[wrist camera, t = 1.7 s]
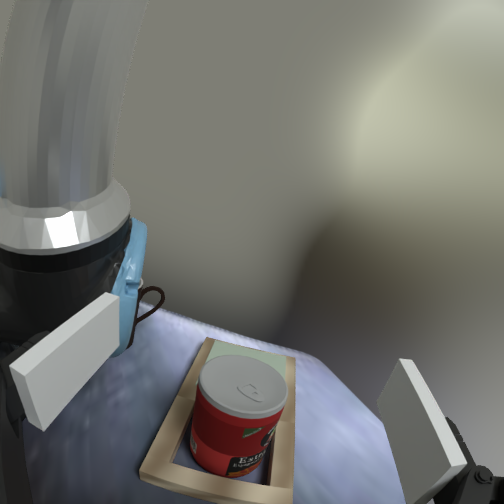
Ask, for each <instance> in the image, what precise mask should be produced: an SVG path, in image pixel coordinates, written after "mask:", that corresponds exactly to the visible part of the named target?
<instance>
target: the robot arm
mask: <svg viewBox="0 0 504 504" xmlns="http://www.w3.org/2000/svg"><path fill="white" fill-rule="evenodd" d="M148 2H149V0H15V2H14V5H13V9H12V12H11V16H10V20H9V24H8V28H7V33H6V37H5V42H4V47H3V52H2V58H1V64H0V504H33V501H32V496H31V491H30V486H29V480H28V475H27V468H26V461H25V453H24V444H23V433H22V421H23V420H24V418H25V417H26V416H27V419H28V421H29V422H30V423H31V424H33V425H34V426H36V427H37V428H39V429H41V430H42V431H45V430H46V428H47V427H48V426H49V425H50V424H51V423H52V421H53V420H54V419H55V418H56V417H57V415H58V414H59V413H60V412H61V411H62V410H63V408H64V407H65V406H66V405H67V404H68V403H69V402H70V400H71V399H72V398H73V397H74V396H75V395H76V394H77V392H78V391H79V390H80V389H81V388H82V387H83V386H84V384H85V383H86V382H87V381H88V380H89V379H90V378H91V376H92V375H93V374H94V373H95V372H96V371H97V370H98V369H99V368H100V366H101V365H102V364H103V363H104V362H105V361H106V360H107V359H108V358H113V357H116V356H119V355H120V354H122V353H123V352H124V351H125V349H126V348H127V346H128V343H129V340H130V336H131V332H132V327H133V322H134V316H135V311H136V304H137V298H138V288H139V284H140V278H141V274H142V269H143V263H144V255H145V249H146V240H147V227H146V225H145V224H144V223H143V222H140V221H138V220H137V219H135V218H131V219H130V208H131V203H130V197H129V195H128V193H127V192H126V190H125V189H124V188H123V187H122V186H121V185H120V184H119V183H118V182H117V181H116V180H115V179H114V178H113V165H114V156H115V148H116V140H117V133H118V127H119V121H120V115H121V109H122V103H123V98H124V93H125V88H126V83H127V79H128V74H129V70H130V65H131V61H132V57H133V53H134V49H135V45H136V42H137V38H138V34H139V31H140V28H141V24H142V21H143V18H144V14H145V11H146V8H147V5H148ZM13 344H14V345H19V347H18V348H17V349H15V347H14V346H13ZM20 346H21V347H20ZM376 403H377V406H378V409H379V412H380V415H381V418H382V421H383V424H384V427H385V430H386V434H387V437H388V440H389V443H390V447H391V450H392V454H393V457H394V460H395V464H396V467H397V471H398V475H399V478H400V482H401V486H402V489H403V493H404V497H405V501H406V504H427V503H428V502H429V501H430V500H431V499H432V498H433V499H434V503H435V504H504V477H496V476H493V474H492V472H491V471H490V470H489V469H488V468H486V467H485V466H481V465H478V466H476V464H475V462H474V460H473V458H472V456H471V454H470V452H469V450H468V448H467V446H466V444H465V442H463V438H462V436H461V435H460V433H459V431H458V429H457V427H456V425H455V424H454V423H453V422H452V421H451V420H450V419H449V418H448V417H444V416H443V414H442V412H441V410H440V408H439V406H438V405H437V403H436V401H435V399H434V397H433V395H432V394H431V392H430V390H429V388H428V386H427V385H426V383H425V381H424V380H423V378H422V376H421V374H420V373H419V371H418V369H417V367H416V366H415V364H414V363H413V361H412V360H407V359H399V360H398V362H397V364H396V366H395V368H394V370H393V372H392V374H391V376H390V378H389V380H388V382H387V383H386V385H385V387H384V389H383V391H382V393H381V394H380V396H379V398H378V400H377V402H376Z"/></svg>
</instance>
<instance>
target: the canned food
mask: <svg viewBox="0 0 504 504" xmlns="http://www.w3.org/2000/svg"><path fill="white" fill-rule="evenodd" d="M287 396H288V386H287V383H286V381H285V380H284V378H283V377H282V376H281V374H280V373H279V372H278V371H276V370H275V369H274V368H272V367H271V366H269V365H268V364H266V363H264V362H262V361H259V360H257V359H254V358H250V357H247V356H241V355H223V356H218V357H215V358H213V359H211V360H209V361H207V362H206V363H205V364H204V365H203V366H202V368H201V371H200V374H199V377H198V383H197V390H196V397H195V405H194V413H193V421H192V429H191V437H190V448H191V452H192V454H193V456H194V458H195V460H196V461H197V463H198V464H199V465H200V466H201V467H202V468H203V469H205V470H206V471H208V472H210V473H212V474H214V475H217V476H220V477H226V478H237V477H241V476H244V475H246V474H249V473H250V472H252V471H253V470H254V469H256V468H257V467H258V465H259V464H260V462H261V460H262V458H263V456H264V454H265V451H266V449H267V447H268V445H269V442H270V440H271V438H272V436H273V433H274V431H275V429H276V426H277V424H278V422H279V419H280V417H281V414H282V412H283V409H284V406H285V404H286V401H287Z"/></svg>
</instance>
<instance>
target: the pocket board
mask: <svg viewBox="0 0 504 504" xmlns="http://www.w3.org/2000/svg"><path fill="white" fill-rule="evenodd" d="M223 355H241V356H247V357H250V358H254V359H257V360H259V361H262V362H264V363H266V364H268V365H269V366H271V367H272V368H274V369H275V370H276V371H278V372H279V373H280V374H281V376H282V377H283V378H284V380H285V381H286V383H287V386H288V396H287V401H286V404H285V406H284V409H283V412H282V414H281V417H280V419H279V422H278V424H277V426H276V429H275V431H274V433H273V436H272V439H271V448H270V458H269V466H268V475H267V483H266V485H260V484H254V483H248V482H243V481H238V480H233V479H229V478H224V477H220V476H216V475H212V474H208V473H204V472H200V471H197V470H193V469H190V468H186V467H183V466H180V465H177V464H173V460H174V458H175V455H176V453H177V451H178V448H179V446H180V443H181V441H182V439H183V436H184V434H185V431H186V429H187V426H188V424H189V422H190V419H191V417H192V414H193V412H194V405H195V397H196V390H197V383H198V377H199V374H200V371H201V368H202V366H203V365H204V364H205V363H206V362H207V361H209V360H211V359H213V358H215V357H218V356H223ZM294 447H295V358H294V357H289V356H284V355H279V354H275V353H270V352H266V351H261V350H257V349H252V348H248V347H244V346H240V345H236V344H232V343H228V342H224V341H220V340H216V339H212V338H209V337H206V339H205V341H204V343H203V345H202V347H201V349H200V351H199V353H198V355H197V357H196V359H195V361H194V363H193V365H192V367H191V369H190V371H189V372H188V374H187V376H186V378H185V380H184V382H183V384H182V386H181V388H180V390H179V392H178V394H177V396H176V398H175V400H174V402H173V404H172V406H171V408H170V410H169V412H168V414H167V416H166V418H165V420H164V422H163V424H162V426H161V428H160V430H159V432H158V434H157V436H156V438H155V440H154V442H153V444H152V446H151V448H150V450H149V452H148V454H147V456H146V458H145V460H144V462H143V464H142V466H141V467H140V469H139V474H140V480H142V481H145V482H148V483H150V484H153V485H156V486H159V487H162V488H165V489H168V490H171V491H174V492H177V493H180V494H184V495H187V496H191V497H194V498H198V499H202V500H206V501H210V502H214V503H218V504H292V498H293V476H294Z"/></svg>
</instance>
